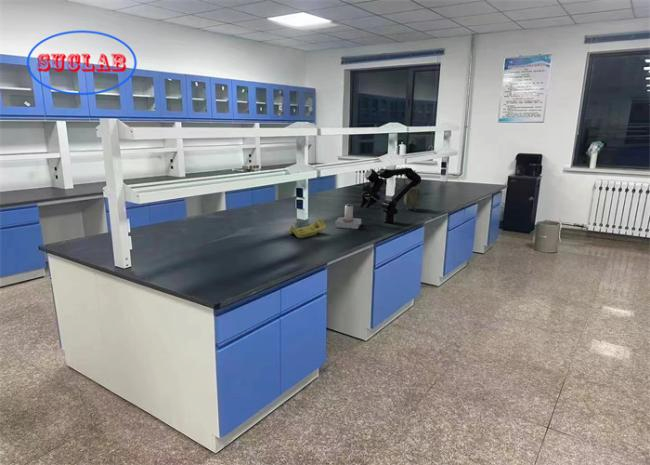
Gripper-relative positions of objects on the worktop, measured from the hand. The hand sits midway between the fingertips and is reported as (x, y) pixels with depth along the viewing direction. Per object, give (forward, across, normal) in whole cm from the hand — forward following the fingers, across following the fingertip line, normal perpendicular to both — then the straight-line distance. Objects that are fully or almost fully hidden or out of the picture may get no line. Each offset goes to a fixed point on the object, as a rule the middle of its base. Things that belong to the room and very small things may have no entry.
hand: (363, 208), depth 264 cm
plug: (+13, -2, -2) cm, 14 cm away
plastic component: (+33, +13, -25) cm, 43 cm away
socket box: (+14, -2, -2) cm, 14 cm away
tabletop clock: (-26, -42, +48) cm, 68 cm away
